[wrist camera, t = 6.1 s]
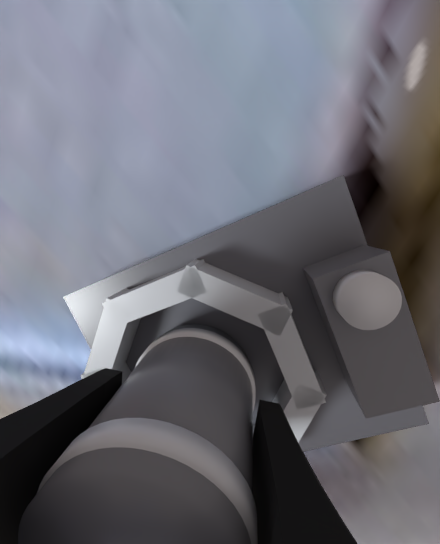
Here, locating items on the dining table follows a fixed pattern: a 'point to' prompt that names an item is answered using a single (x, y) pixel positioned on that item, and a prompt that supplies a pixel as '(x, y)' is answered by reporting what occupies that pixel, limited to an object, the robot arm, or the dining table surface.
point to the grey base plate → (280, 316)
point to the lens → (160, 454)
